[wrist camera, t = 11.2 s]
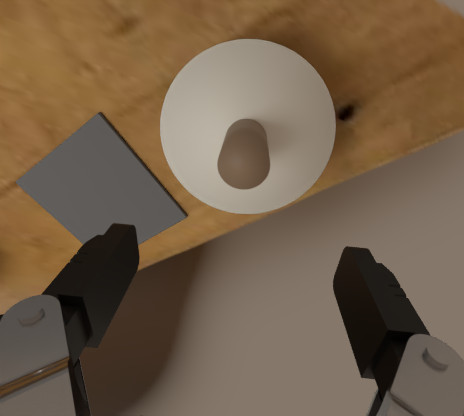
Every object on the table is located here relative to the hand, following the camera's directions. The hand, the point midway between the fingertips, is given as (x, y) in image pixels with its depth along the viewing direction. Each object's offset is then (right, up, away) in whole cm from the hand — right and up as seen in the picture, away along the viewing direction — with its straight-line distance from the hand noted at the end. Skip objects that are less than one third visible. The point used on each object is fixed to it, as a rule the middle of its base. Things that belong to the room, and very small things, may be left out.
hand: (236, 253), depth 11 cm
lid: (+1, +8, +14) cm, 17 cm away
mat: (-17, +3, +26) cm, 32 cm away
